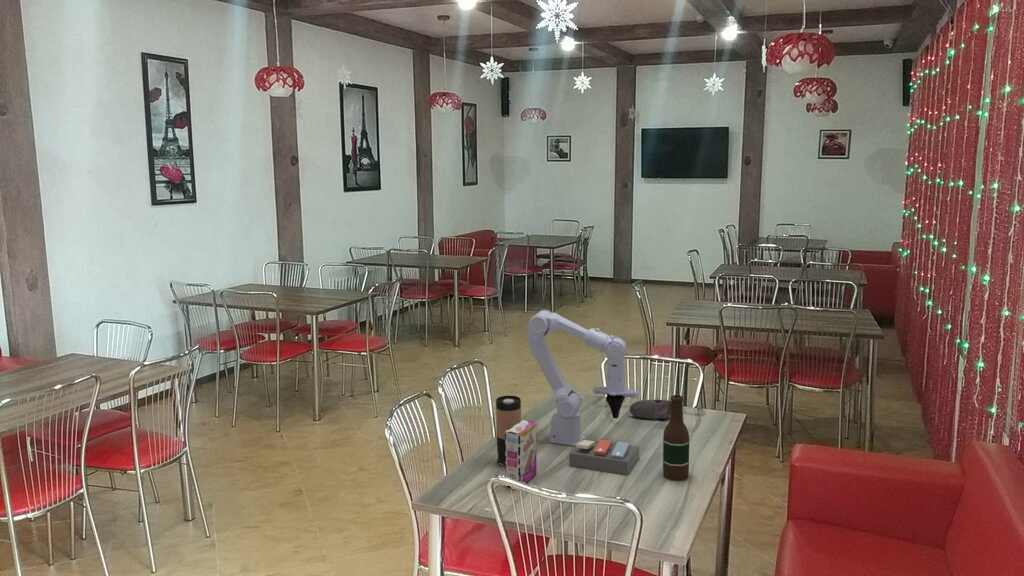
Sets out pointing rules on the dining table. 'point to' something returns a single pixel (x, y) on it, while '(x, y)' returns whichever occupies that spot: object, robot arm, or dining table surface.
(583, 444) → the block
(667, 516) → the dining table surface
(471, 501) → the dining table surface
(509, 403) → the travel mug
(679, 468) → the beer bottle
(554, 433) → the robot arm
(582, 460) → the rocker switch panel
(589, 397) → the dining table surface
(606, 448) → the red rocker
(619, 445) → the slate rocker
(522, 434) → the candy bar box
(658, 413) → the perforated stone tool
